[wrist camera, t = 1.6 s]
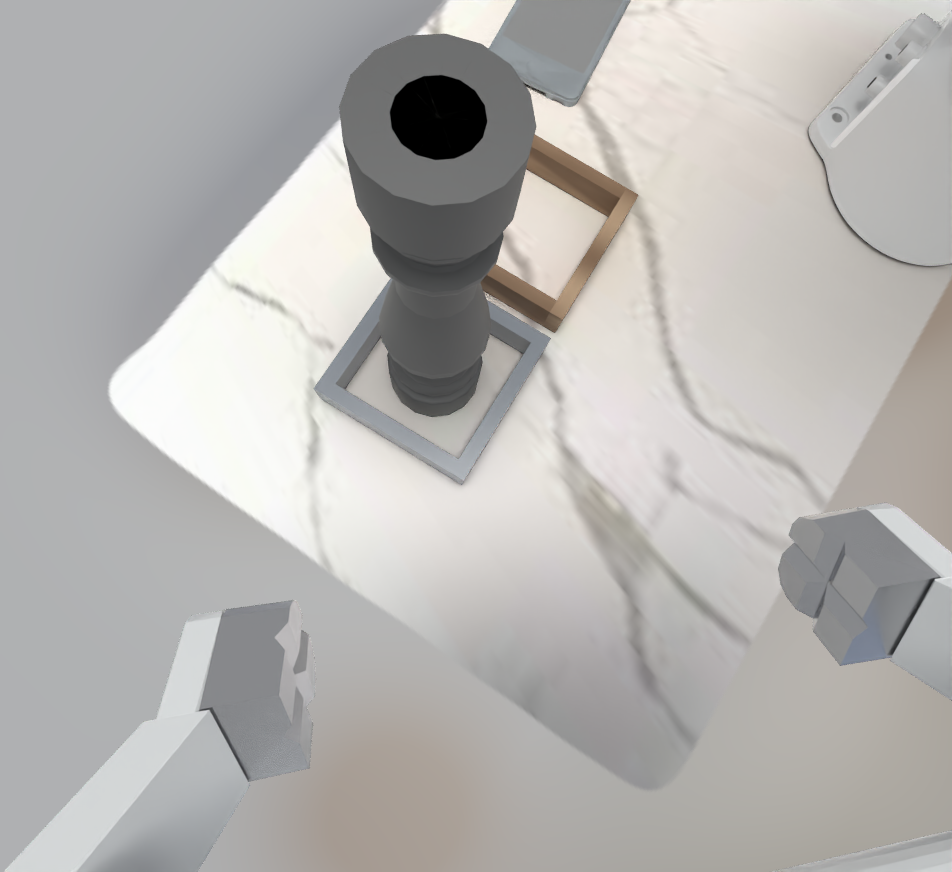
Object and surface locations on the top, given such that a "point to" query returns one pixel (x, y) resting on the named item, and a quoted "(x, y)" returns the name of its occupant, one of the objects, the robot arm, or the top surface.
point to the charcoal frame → (456, 469)
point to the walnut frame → (615, 206)
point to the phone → (557, 42)
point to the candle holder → (436, 200)
